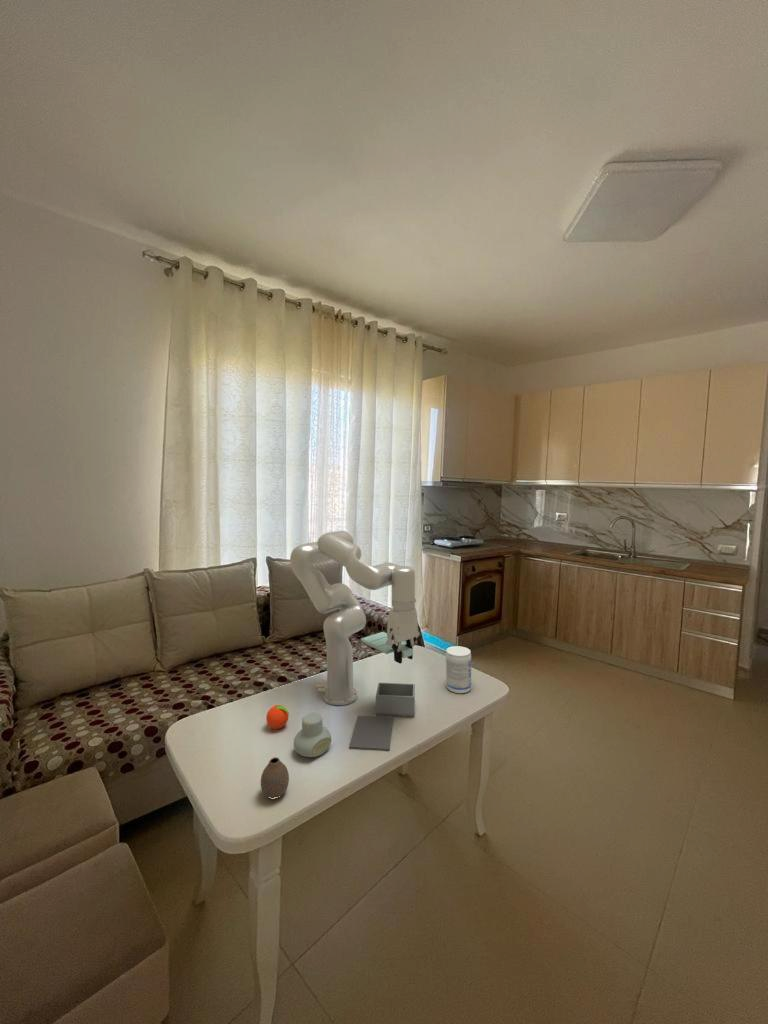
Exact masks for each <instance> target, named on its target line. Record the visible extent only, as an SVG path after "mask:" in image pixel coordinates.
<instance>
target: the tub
mask: <svg viewBox="0 0 768 1024" xmlns="http://www.w3.org/2000/svg"><path fill="white" fill-rule="evenodd" d="M415 709H416V683H404V682H403V683H402V682H399V683H397V682H378V683H377V690H376V693H375V716H376V717H393V718H395V717H399V718H415V712H416V710H415Z"/></svg>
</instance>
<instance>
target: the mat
mask: <svg viewBox="0 0 768 1024" xmlns="http://www.w3.org/2000/svg"><path fill="white" fill-rule="evenodd" d="M393 725H394V716H376V715H374V716H373V715H357V717H356V721H355V724H354V727H353V731H352V735H351V738H350V742H349V745H348V749H350V750H363V751H364V750H367V751H385V752H390V748H391V742H392V741H391V740H392V733H393V732H392V731H393Z"/></svg>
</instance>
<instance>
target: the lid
mask: <svg viewBox="0 0 768 1024" xmlns="http://www.w3.org/2000/svg"><path fill="white" fill-rule="evenodd" d="M387 639H388V638H387V632H385V631H381V632H378V633H374V634H371V635H367V636H365V637H361V638H360V642H361V643H364V644H366V645H367V646H369V647H370V648H371V647H372V648H374V649H375V650H377V651H380V652H381V653H383V654H385V655H389V654H391V653H394V650H393V649H392V647H390V646H389V645H387V644H386V641H387ZM392 643H393V641H392ZM397 644H398V643H397ZM397 644H396V645H397ZM405 645H406V641H403V642H402V643H401V650H400V651H402V659H406V658H407V657H409V656H411V655H414V648H413V649H411V648H409V647H406V646H405Z"/></svg>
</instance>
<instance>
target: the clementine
mask: <svg viewBox="0 0 768 1024" xmlns="http://www.w3.org/2000/svg"><path fill="white" fill-rule="evenodd" d="M289 716H291V714H290V712H289V710H288V708H286V707H285V706H284V705H282V704H275V705H274V706H272V707H270V709H269V710H268V711H267V713H266V723H267V725H268V726H269V727H270V728H272V729H274V730H278V729H279V730H280V729H281V728H284V726H285V725H286V724H287V722H288V721H289V720H288V719H289Z"/></svg>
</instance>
